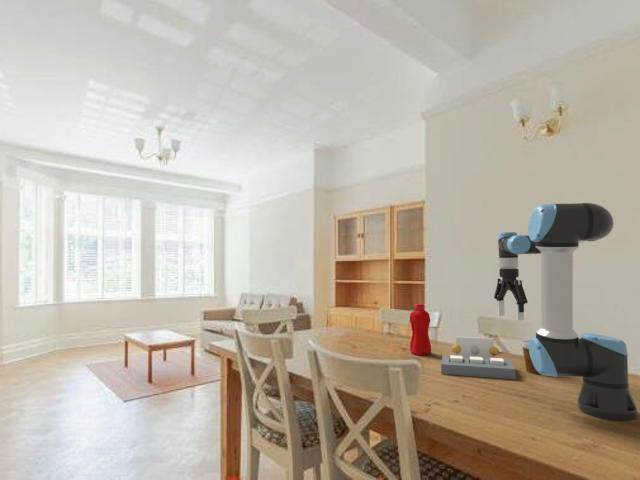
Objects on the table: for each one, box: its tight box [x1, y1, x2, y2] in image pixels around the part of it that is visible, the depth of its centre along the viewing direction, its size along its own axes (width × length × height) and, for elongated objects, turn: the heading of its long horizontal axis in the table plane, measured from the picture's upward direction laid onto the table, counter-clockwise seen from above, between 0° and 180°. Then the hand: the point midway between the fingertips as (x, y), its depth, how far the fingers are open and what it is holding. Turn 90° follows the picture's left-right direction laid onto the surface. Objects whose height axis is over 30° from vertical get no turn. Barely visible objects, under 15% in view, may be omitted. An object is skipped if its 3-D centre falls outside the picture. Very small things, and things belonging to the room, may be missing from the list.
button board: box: [440, 354, 517, 381], centre depth 171 cm, size 16×28×4 cm, turn 71°
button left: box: [449, 354, 463, 363], centre depth 173 cm, size 5×5×3 cm
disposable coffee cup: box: [521, 340, 541, 375], centre depth 169 cm, size 10×10×12 cm
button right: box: [490, 357, 504, 365], centre depth 168 cm, size 5×5×3 cm
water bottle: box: [408, 303, 432, 356], centre depth 204 cm, size 9×11×25 cm
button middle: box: [470, 356, 483, 364], centre depth 171 cm, size 5×5×3 cm
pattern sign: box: [451, 336, 500, 358], centre depth 186 cm, size 6×20×12 cm, turn 71°
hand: (510, 317), depth 172 cm, fingers open, 13 cm apart
